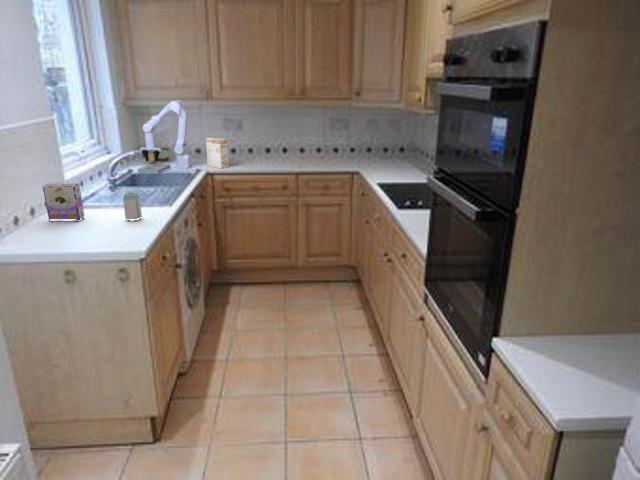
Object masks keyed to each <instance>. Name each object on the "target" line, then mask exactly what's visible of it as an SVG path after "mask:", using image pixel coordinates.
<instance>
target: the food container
mask: <svg viewBox="0 0 640 480" xmlns="http://www.w3.org/2000/svg"><path fill="white" fill-rule="evenodd" d="M155 148H161V151H160V153H159V156H158V161H157V162H156V163H170V151H171V148H170V147H168V146H155ZM153 152H155V151H153Z"/></svg>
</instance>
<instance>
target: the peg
mask: <svg viewBox="0 0 640 480" xmlns="http://www.w3.org/2000/svg"><path fill="white" fill-rule="evenodd" d="M148 158H149V161H148V165H149V164H156V162H155V156H154V153H153V152H148Z"/></svg>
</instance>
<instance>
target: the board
mask: <svg viewBox="0 0 640 480" xmlns="http://www.w3.org/2000/svg"><path fill="white" fill-rule="evenodd" d="M169 168H170V169H171V164H162V163H159V164H158V163H155V164H149V163H148V164H146V165H144V166H142V167H140V168H137V173H138V174H155V175H159V174H161V173H163V172H162V171H164V170H166V169H168V170H170V169H169ZM166 171H167V170H166ZM164 172H165V171H164Z"/></svg>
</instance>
